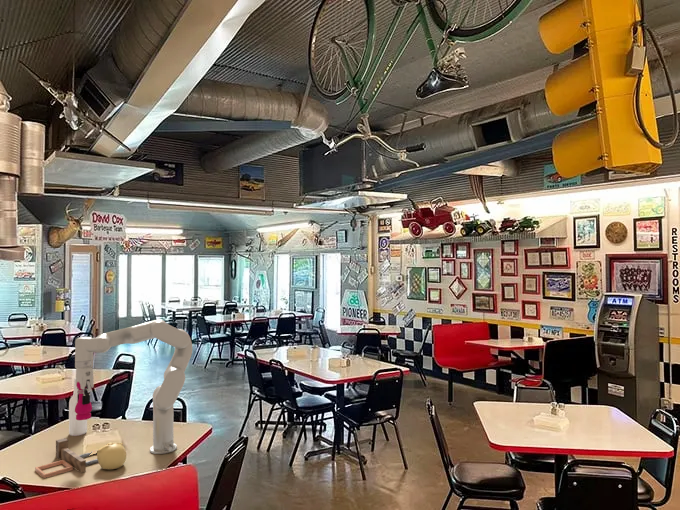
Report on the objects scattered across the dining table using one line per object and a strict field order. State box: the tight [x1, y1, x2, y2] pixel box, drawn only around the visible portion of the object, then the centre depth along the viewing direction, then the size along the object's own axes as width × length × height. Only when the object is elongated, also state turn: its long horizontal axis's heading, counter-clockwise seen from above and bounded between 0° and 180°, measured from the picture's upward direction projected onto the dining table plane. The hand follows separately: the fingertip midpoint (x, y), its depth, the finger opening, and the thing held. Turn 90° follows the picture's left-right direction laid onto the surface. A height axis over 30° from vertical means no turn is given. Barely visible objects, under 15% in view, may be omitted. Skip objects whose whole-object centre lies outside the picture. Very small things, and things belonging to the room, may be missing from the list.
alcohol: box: [68, 377, 88, 437], centre depth 272 cm, size 9×9×30 cm
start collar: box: [78, 451, 99, 467], centre depth 235 cm, size 12×12×2 cm
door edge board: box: [55, 437, 87, 474], centre depth 231 cm, size 28×4×8 cm, turn 48°
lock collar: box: [34, 459, 74, 479], centre depth 223 cm, size 12×12×2 cm
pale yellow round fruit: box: [96, 442, 127, 470], centre depth 227 cm, size 11×12×11 cm
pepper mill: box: [75, 382, 93, 420], centre depth 233 cm, size 7×7×20 cm
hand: (83, 402), depth 233 cm, fingers closed on pepper mill, 5 cm apart
